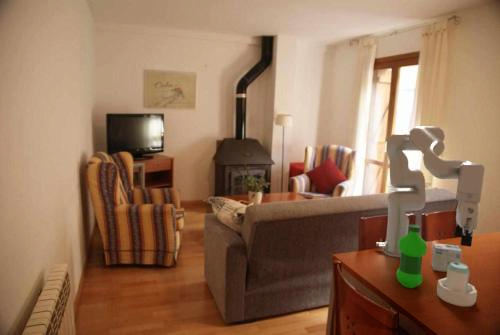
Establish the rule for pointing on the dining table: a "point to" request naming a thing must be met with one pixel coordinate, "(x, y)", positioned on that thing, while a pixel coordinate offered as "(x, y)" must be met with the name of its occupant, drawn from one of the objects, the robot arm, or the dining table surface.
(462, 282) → the can
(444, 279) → the white octagonal bowl
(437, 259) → the light bulb box
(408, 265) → the plastic bottle
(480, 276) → the dining table surface
